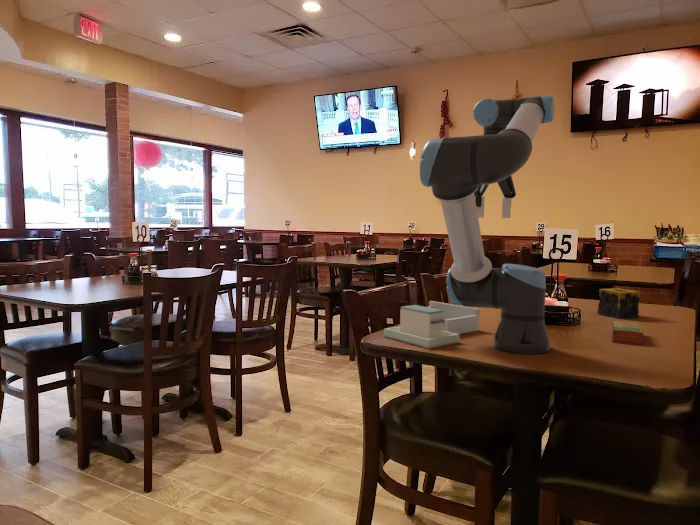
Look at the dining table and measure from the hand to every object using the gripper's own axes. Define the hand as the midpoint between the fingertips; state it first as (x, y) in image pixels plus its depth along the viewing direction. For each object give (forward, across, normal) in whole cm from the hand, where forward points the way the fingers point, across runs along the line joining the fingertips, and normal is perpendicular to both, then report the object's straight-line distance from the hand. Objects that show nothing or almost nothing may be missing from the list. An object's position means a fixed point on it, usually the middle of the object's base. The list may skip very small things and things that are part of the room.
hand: (493, 218), depth 168 cm
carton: (+37, -25, +32) cm, 55 cm away
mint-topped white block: (+36, +28, -4) cm, 46 cm away
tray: (+37, +28, -4) cm, 46 cm away
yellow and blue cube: (+37, -62, +12) cm, 73 cm away
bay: (+37, +10, -13) cm, 40 cm away
